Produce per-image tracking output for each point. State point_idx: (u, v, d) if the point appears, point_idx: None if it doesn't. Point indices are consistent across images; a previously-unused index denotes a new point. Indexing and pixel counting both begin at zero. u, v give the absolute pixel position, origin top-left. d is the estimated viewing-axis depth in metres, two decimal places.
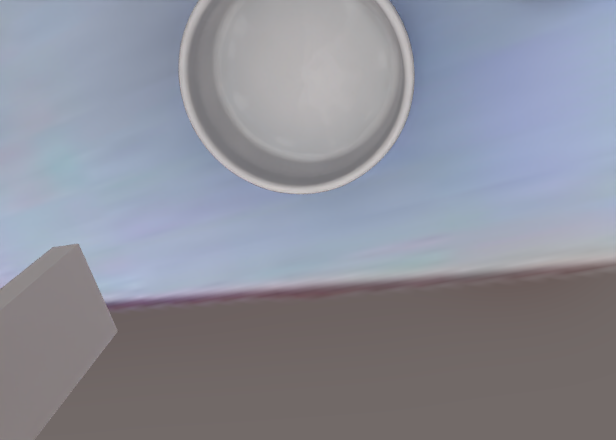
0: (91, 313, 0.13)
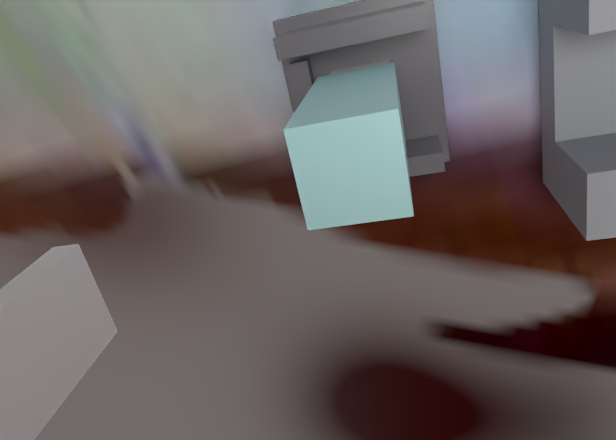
0: (91, 313, 0.13)
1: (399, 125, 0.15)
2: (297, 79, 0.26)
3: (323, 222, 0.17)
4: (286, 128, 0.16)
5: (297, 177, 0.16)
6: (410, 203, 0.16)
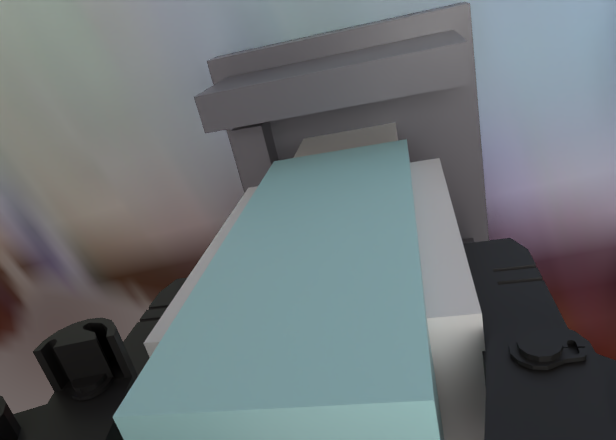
0: None
1: (435, 438, 0.05)
2: (247, 153, 0.16)
3: None
4: (122, 411, 0.06)
5: None
6: None
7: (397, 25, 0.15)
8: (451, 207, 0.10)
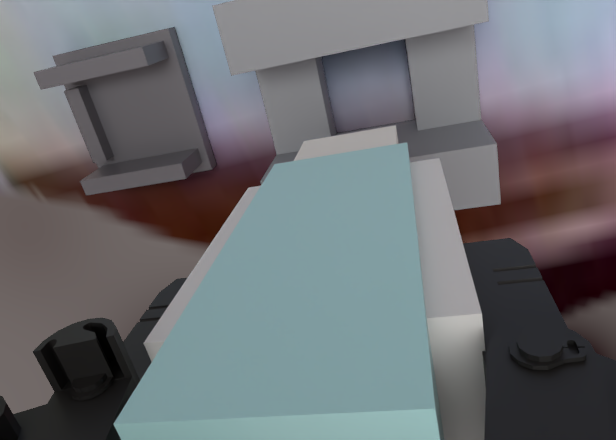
0: None
1: None
2: (73, 102, 0.32)
3: None
4: (123, 418, 0.06)
5: None
6: None
7: (138, 38, 0.30)
8: (451, 207, 0.10)
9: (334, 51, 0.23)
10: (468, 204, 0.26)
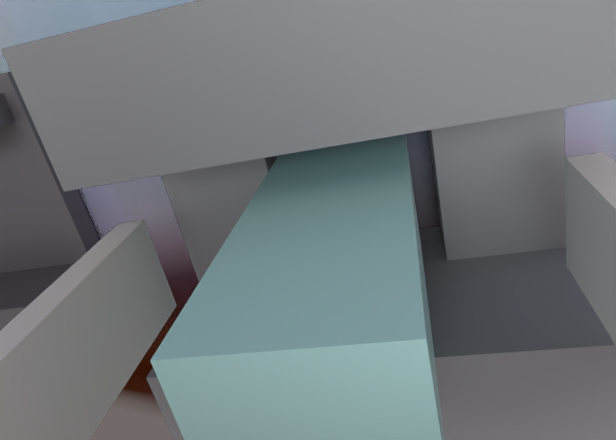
0: (155, 287, 0.13)
1: (427, 373, 0.06)
2: None
3: None
4: (158, 356, 0.07)
5: None
6: None
7: None
8: None
9: (274, 150, 0.10)
10: None
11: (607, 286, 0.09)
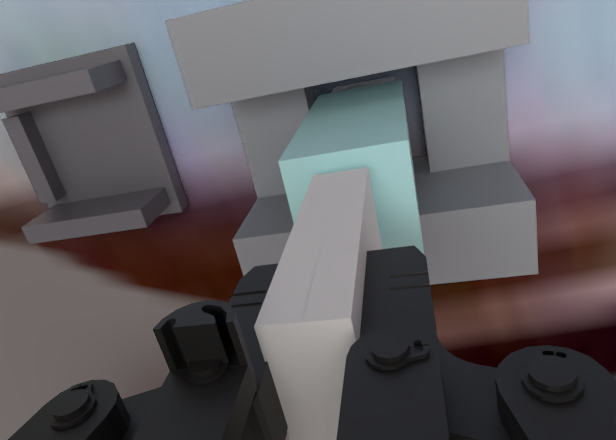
0: None
1: (409, 158, 0.13)
2: (13, 133, 0.26)
3: None
4: (281, 160, 0.14)
5: (294, 213, 0.15)
6: (420, 243, 0.15)
7: (89, 57, 0.25)
8: (361, 216, 0.10)
9: (324, 80, 0.18)
10: (496, 273, 0.20)
11: None
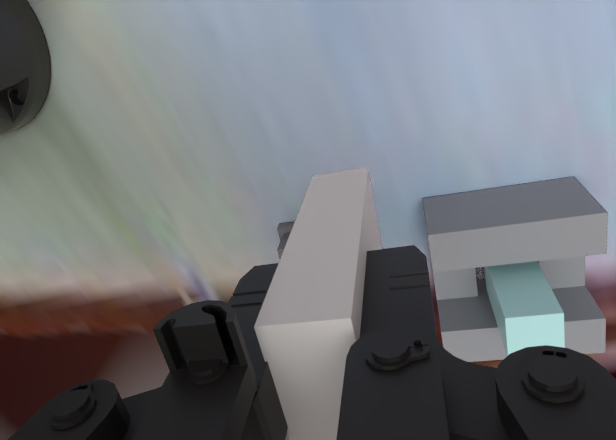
0: None
1: (563, 319, 0.33)
2: None
3: None
4: (506, 317, 0.33)
5: (507, 338, 0.34)
6: None
7: None
8: (361, 216, 0.10)
9: (504, 263, 0.37)
10: (583, 351, 0.39)
11: None
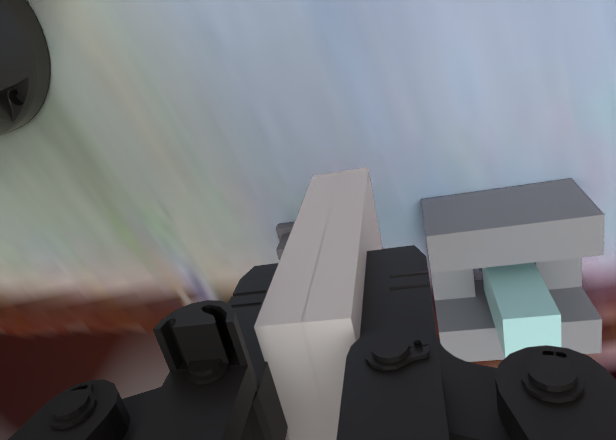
0: None
1: (560, 321, 0.33)
2: None
3: None
4: (503, 318, 0.33)
5: (505, 339, 0.34)
6: None
7: None
8: (361, 216, 0.10)
9: (502, 264, 0.37)
10: (579, 352, 0.39)
11: None
